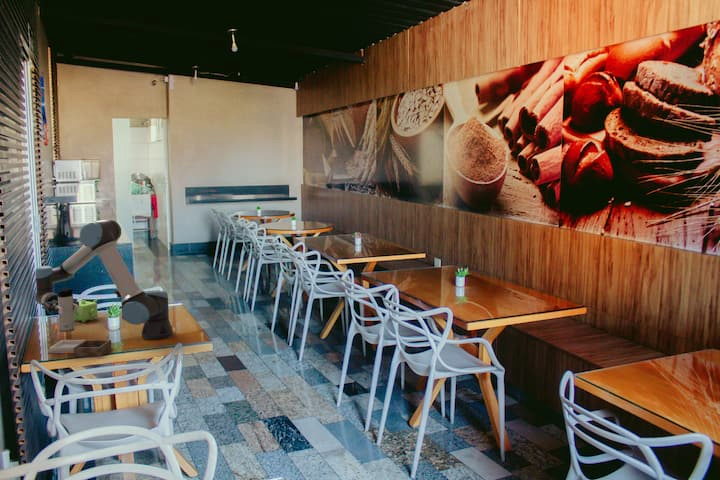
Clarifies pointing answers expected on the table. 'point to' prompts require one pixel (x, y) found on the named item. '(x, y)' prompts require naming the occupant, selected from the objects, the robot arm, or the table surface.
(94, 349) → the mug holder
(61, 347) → the tray
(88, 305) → the green rounded cube block
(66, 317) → the travel mug
